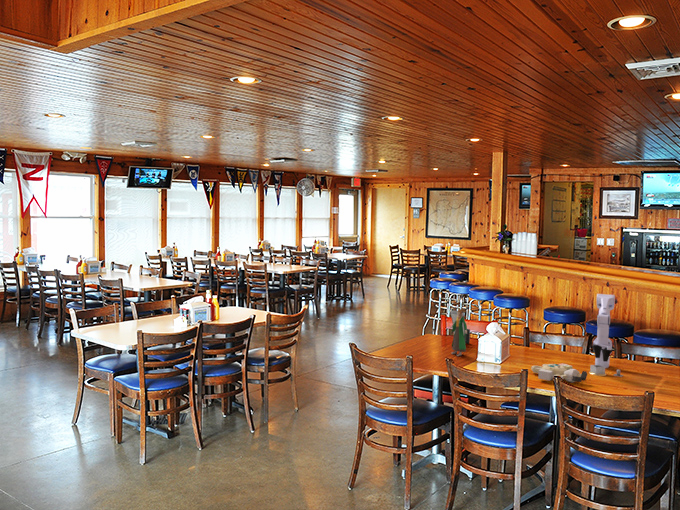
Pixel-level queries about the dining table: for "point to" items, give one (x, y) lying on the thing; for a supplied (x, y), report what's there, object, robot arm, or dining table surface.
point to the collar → (597, 369)
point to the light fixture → (467, 338)
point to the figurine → (459, 333)
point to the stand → (618, 374)
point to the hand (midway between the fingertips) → (601, 359)
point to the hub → (598, 375)
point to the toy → (559, 372)
